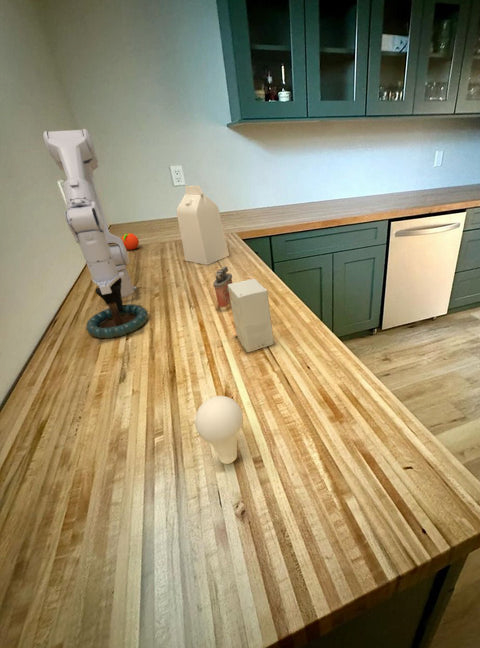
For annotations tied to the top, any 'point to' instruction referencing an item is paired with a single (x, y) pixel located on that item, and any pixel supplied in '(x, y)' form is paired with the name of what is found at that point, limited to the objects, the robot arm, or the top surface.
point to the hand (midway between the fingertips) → (118, 309)
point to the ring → (121, 329)
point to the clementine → (130, 241)
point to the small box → (251, 314)
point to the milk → (201, 228)
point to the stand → (116, 317)
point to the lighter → (222, 286)
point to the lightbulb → (220, 425)
